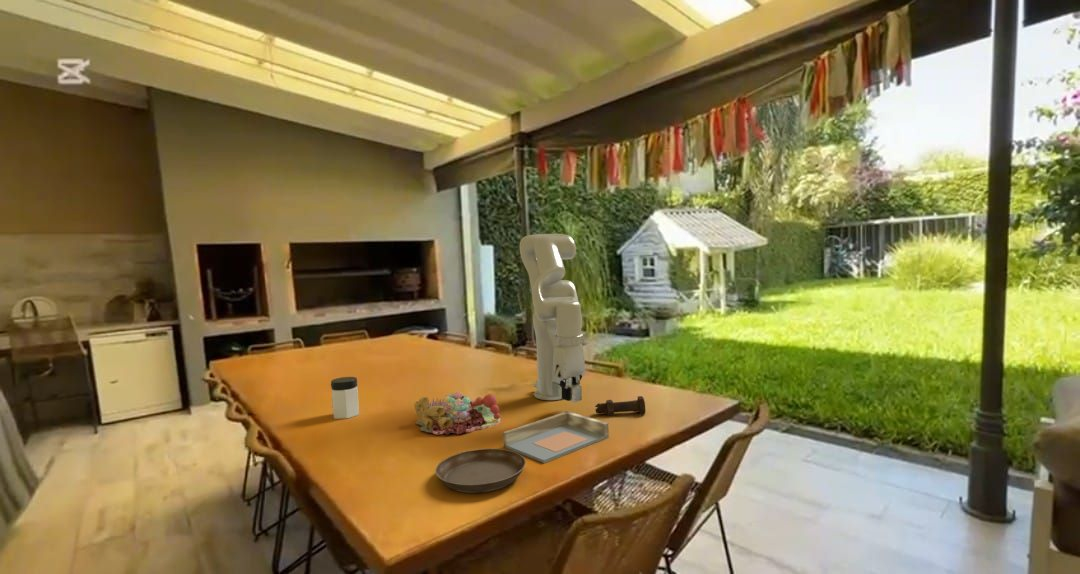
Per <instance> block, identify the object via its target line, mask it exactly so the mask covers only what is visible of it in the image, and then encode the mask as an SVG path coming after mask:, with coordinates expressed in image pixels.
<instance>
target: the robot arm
mask: <svg viewBox="0 0 1080 574" xmlns="http://www.w3.org/2000/svg"><path fill="white" fill-rule="evenodd" d="M520 239H521V240H519V241H520V242H519V254H520V258H521V261H522V263H523V265H524V267H525V269H526V271H527V274H528V277H529V282H530V289H531V297H532V298H531V299H532V305H533V308H534V313H533V315H532V323H533V330H534V334H535V341H536V342H535V343H536V344H535V345H536V363H537V380H536V381H534V382H533V383H532V387H533V388H536V391H534V394H533V395H534V396H533V397H534V398H535V399H538V400H541V401H559V400H565V401H567V402H571V401H570V388H568V387H569V378H571V383H573V384H576V385H581V381H582V378H583V377H584V376H585V375H586V370H585V367H586V364H585V363H586V362H585V352H584V345H583V344H582V337H583V334H582V328H583V315H582V309H581V303H580V302H579V297H578V293H577V288H576V286H575V284H574V283H573V282H572V281H571V280H568V279H567V280H566V279H563V278H564V277H565V275H566V268H565V265H564V261H563V260H573V259H574V257H575V256H576V253H577V245H576V242H575V240H574V238H573V237H572V236H571V235H568V234H566V233H536V234H529V235H526V236H524V237H522V238H520ZM564 380H565V382H564ZM552 381H553V382H555V383H558V384H559V385H560V387H561V388H562V398H560V397H557V396H554V395H552Z"/></svg>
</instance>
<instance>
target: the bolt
mask: <svg viewBox="0 0 1080 574" xmlns="http://www.w3.org/2000/svg"><path fill="white" fill-rule="evenodd" d="M594 407H595V414H597V415H598V414H607V416H614V414H615V413H629V412H635V413H636V412H638V413H639V415H641V416H642V415H645V414H646V402H645V399H644V397H643V396H642V395H641V396H639V395H638V396H637V399H636V400H627V401H616V402H614V401H613V400H612V399H607V400H606V401H605V402H603V403H602V402H601V403H597V404H595V406H594Z"/></svg>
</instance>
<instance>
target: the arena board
mask: <svg viewBox="0 0 1080 574" xmlns="http://www.w3.org/2000/svg"><path fill="white" fill-rule="evenodd" d="M609 434H610V433H609ZM609 434H608V435H606V436H604V435H601V434H598V433H594V432H591V431H588V430H585V429H581V428H578V427H575V426H572V425H569V424H566V425H564V426H561V427H558V428H555V429H552V430H549V431H547V432H544V433H541V434H538V435H535V436H532V437H529V438H527V439H524V440H521V441H518V442H515V443H512V444H510V445H507V447H506V450H509V451H513V452H516V453H518V454H520V455H521V456H522V455H523V456H524V457H528V458H530V459H532V460H535V461H537V462H538V463H542V464H546V463H549V462H551V461H553V460H554V461H555V459H559V458H561V457H563V456H566V455H568V454H571V453H573V452H576V451H578V450H581V449H583V448H587V447H588V446H590V445H593V444H596V443H598V442H600V441H603V440H605V439H607V438H610V435H609Z"/></svg>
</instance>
